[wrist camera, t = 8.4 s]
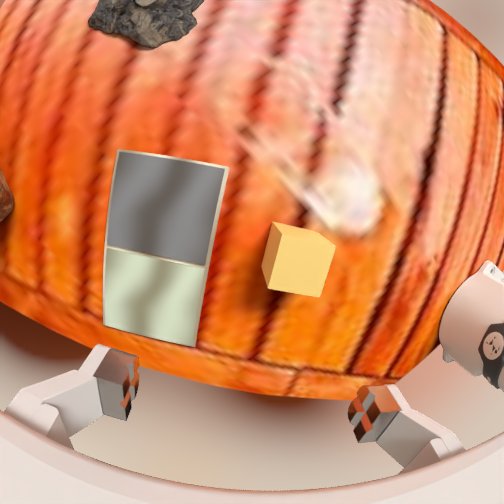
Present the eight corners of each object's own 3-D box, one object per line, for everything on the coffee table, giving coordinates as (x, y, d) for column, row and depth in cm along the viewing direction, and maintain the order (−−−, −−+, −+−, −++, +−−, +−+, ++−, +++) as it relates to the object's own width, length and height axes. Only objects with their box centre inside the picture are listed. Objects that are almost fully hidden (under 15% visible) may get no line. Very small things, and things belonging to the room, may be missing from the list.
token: (316, 231, 30) (335, 246, 24) (304, 274, 31) (319, 297, 25) (272, 221, 29) (282, 234, 23) (261, 266, 30) (267, 288, 25)
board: (229, 167, 27) (229, 167, 26) (195, 344, 33) (194, 348, 32) (119, 149, 26) (116, 148, 25) (105, 322, 31) (102, 326, 30)
